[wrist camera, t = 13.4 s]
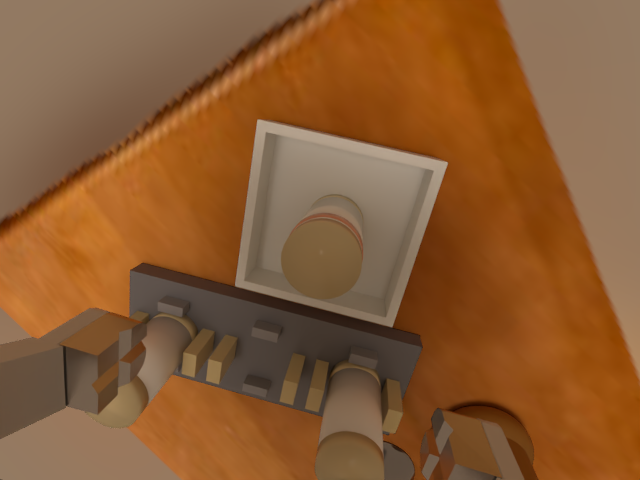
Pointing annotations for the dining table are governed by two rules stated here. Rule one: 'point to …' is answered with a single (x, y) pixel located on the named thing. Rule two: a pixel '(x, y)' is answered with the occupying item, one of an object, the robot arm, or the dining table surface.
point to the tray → (344, 179)
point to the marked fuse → (325, 248)
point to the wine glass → (397, 463)
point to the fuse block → (273, 342)
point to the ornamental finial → (508, 435)
